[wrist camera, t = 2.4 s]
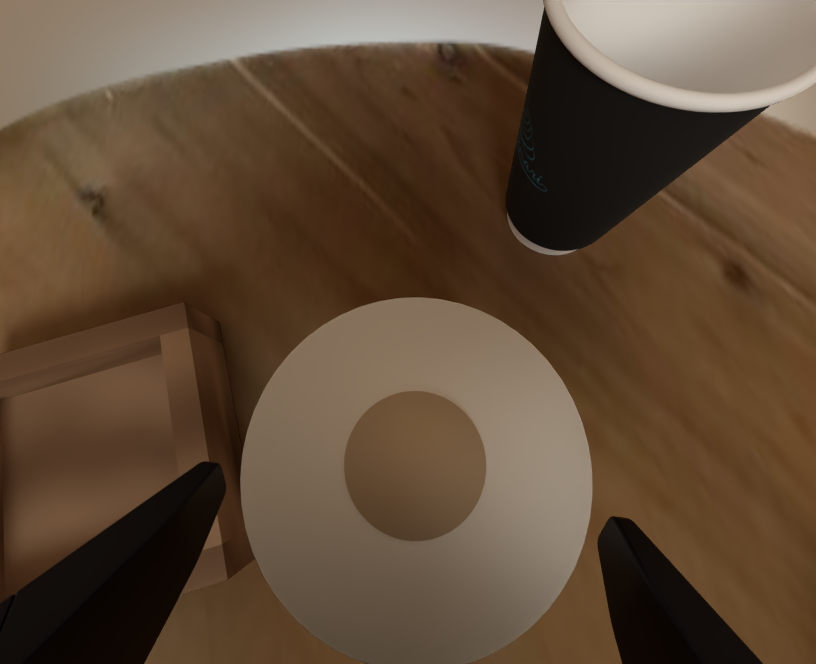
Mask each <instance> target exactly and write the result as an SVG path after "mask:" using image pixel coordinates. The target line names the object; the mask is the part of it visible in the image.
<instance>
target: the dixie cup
mask: <svg viewBox="0 0 816 664" xmlns="http://www.w3.org/2000/svg"><path fill="white" fill-rule="evenodd" d="M543 2H544V6H545V7H544V12H543V16H542V21H541V26H540V31H539V36H538V41H537V46H536V51H535V55H534V60H533V65H532V70H531V75H530V80H529V85H528V90H527V94H526V99H525V104H524V109H523V114H522V119H521V124H520V129H519V133H518V138H517V143H516V148H515V153H514V158H513V163H512V168H511V173H510V177H509V182H508V187H507V192H506V208H507V219H508V223H509V226H510V228H511V230H512V232H513V234H514V235H515V236H516V238H517V239H518V240H519V241H520V242H521V243H523V244H524V245H525V246H527V247H528V248H530V249H532V250H534V251H536V252H539V253H542V254H547V255H563V254H568V253H571V252H573V251H576V250H577V249H580V248H583V247H586V246H588V245H590V244H592V243H593V242H595V241H596V240H598V239H599V238H600V237H602V236H603V235H604V234H605V233H607V232H608V231H609V230H611V229H612V228H613V227H614V226H616V225H617V224H618V223H620V222H621V221H622V220H623V219H625V218H626V217H627V216H629V215H630V214H631V213H632V212H634V211H635V210H636V209H638V208H639V207H640V206H641V205H643V204H644V203H645V202H647V201H648V200H649V199H650V198H652V197H653V196H654V195H656V194H657V193H658V192H659V191H661V190H662V189H663V188H665V187H666V186H667V185H668V184H670V183H671V182H672V181H674V180H675V179H676V178H677V177H679V176H680V175H681V174H683V173H684V172H685V171H687V170H688V169H689V168H690V167H692V166H693V165H694V164H696V163H697V162H698V161H699V160H701V159H702V158H703V157H705V156H706V155H707V154H708V153H710V152H711V151H712V150H714V149H715V148H716V147H717V146H719V145H720V144H721V143H723V142H724V141H725V140H726V139H728V138H729V137H730V136H732V135H733V134H734V133H735V132H737V131H738V130H739V129H741V128H742V127H743V126H744V125H746V124H747V123H748V122H750V121H751V120H752V119H753V118H755V117H756V116H757V115H759V114H760V113H761V112H762V111H764V110H765V109H766V108H768V107H769V106H770V105H773V104H776V103H779V102H781V101H783V100H786V99H788V98H791V97H793V96H795V95H797V94H799V93H800V92H802V91H804V90H806V89H807V88H809V87H810V86H812V85H813V84H815V83H816V0H543Z"/></svg>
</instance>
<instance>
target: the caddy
mask: <svg viewBox="0 0 816 664" xmlns="http://www.w3.org/2000/svg"><path fill="white" fill-rule="evenodd" d="M203 461H208V462H216V463H219V464H220V465H221V466H222V470H223V474H224V478H225V481H226V493H225V496H224V499H223V501H222V504H221V506H220V509H219V511H218V513H217V516H216V518H215V521H214V523H213V526H212V528H211V531H210V533H209V535H208V538H207V540H206V543H205V545H204V548H203V550H202V552H201V555H200V557H199V559H198V561H197V564H196V566H195V568H194V570H193V572H192V574H191V575H190V577H189V579H188V581H187V583H186V585H185V587H184V589H183V591H182V593H181V594H180V595H183V594H186V593H189V592H192V591H195V590H198V589H201V588H204V587H207V586H210V585H213V584H216V583H219V582H222V581H225V580H228V579H229V578H231V577H232V576H233V575H234V574H236V573H237V572H238V571H240V570H241V569H242V568H243V567H245V566H246V565H247V564H249V563H250V562H251V561H252V560H254V559H255V557H254V554H253V552H252V549H251V545H250V542H249V539H248V535H247V532H246V529H245V523H244V517H243V511H242V505H241V486H240V476H241V463H242V448H241V442H240V437H239V431H238V426H237V420H236V415H235V409H234V404H233V398H232V392H231V387H230V381H229V376H228V370H227V365H226V359H225V354H224V348H223V342H222V337H221V331H220V326H219V322H218V321H216V320H215V319H213V318H211V317H209V316H208V315H206V314H204V313H202V312H201V311H199V310H197V309H196V308H194V307H192V306H190V305H189V304H187V303H185V302H182V303H178V304H175V305H171V306H168V307H164V308H161V309H157V310H154V311H150V312H147V313H143V314H140V315H136V316H133V317H129V318H126V319H122V320H118V321H115V322H111V323H108V324H104V325H101V326H97V327H94V328H90V329H87V330H83V331H80V332H76V333H73V334H69V335H65V336H62V337H58V338H55V339H51V340H48V341H44V342H41V343H37V344H34V345H30V346H27V347H23V348H20V349H16V350H12V351H9V352H5V353H2V354H0V603H1V602H2V601H4V600H5V599H7V598H8V597H9V596H11V595H13V594H15V595H16V593H17V591H18V590H20V589H21V588H22V587H24V586H25V585H27V584H28V583H29V582H31V581H32V580H34V579H35V578H37V577H38V576H39V575H41V574H42V573H44V572H45V571H46V570H48V569H49V568H51V567H52V566H54V565H55V564H56V563H58V562H59V561H61V560H62V559H64V558H65V557H66V556H68V555H69V554H71V553H72V552H73V551H75V550H76V549H78V548H79V547H81V546H82V545H83V544H85V543H86V542H88V541H89V540H90V539H92V538H93V537H95V536H96V535H98V534H99V533H100V532H102V531H103V530H105V529H106V528H107V527H109V526H110V525H112V524H113V523H115V522H116V521H117V520H119V519H120V518H122V517H123V516H125V515H126V514H127V513H129V512H130V511H132V510H133V509H134V508H136V507H137V506H139V505H140V504H142V503H143V502H144V501H146V500H147V499H149V498H150V497H151V496H153V495H154V494H156V493H157V492H159V491H160V490H161V489H163V488H164V487H166V486H167V485H168V484H170V483H171V482H173V481H174V480H176V479H177V478H178V477H180V476H181V475H183V474H184V473H186V472H187V471H188V470H190V469H191V468H193V467H194V466H195V465H197V464H198V463H200V462H203Z"/></svg>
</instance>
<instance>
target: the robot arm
mask: <svg viewBox="0 0 816 664" xmlns="http://www.w3.org/2000/svg"><path fill="white" fill-rule="evenodd" d="M225 493H226V481H225V478H224V474H223V470H222V466H221V465H220V464H219V463H216V462H208V461H203V462H200V463H198V464H197V465H195V466H194V467H193V468H191V469H190V470H188V471H187V472H186V473H184V474H183V475H181V476H180V477H178V478H177V479H176V480H174V481H173V482H171V483H170V484H168V485H167V486H166V487H164V488H163V489H161V490H160V491H159V492H157V493H156V494H154V495H153V496H151V497H150V498H149V499H147V500H146V501H144V502H143V503H142V504H140V505H139V506H137V507H136V508H134V509H133V510H132V511H130V512H129V513H127V514H126V515H125V516H123V517H122V518H120V519H119V520H117V521H116V522H115V523H113V524H112V525H110V526H109V527H107V528H106V529H105V530H103V531H102V532H100V533H99V534H98V535H96V536H95V537H93V538H92V539H90V540H89V541H88V542H86V543H85V544H83V545H82V546H81V547H79V548H78V549H76V550H75V551H73V552H72V553H71V554H69V555H68V556H66V557H65V558H64V559H62V560H61V561H59V562H58V563H56V564H55V565H54V566H52V567H51V568H49V569H48V570H46V571H45V572H44V573H42V574H41V575H39V576H38V577H37V578H35V579H34V580H32V581H31V582H29V583H28V584H27V585H25V586H24V587H22V588H21V589H20V590H18V591H17V593H16V595H15V594H13V595H11V596H9V597H8V598H7V599H5V600H4V601H2V602H1V603H0V664H144V663H145V661H146V659H147V657H148V655H149V653H150V651H151V649H152V648H153V646H154V644H155V642H156V640H157V638H158V636H159V634H160V632H161V630H162V629H163V627H164V625H165V623H166V621H167V619H168V617H169V615H170V613H171V611H172V610H173V608H174V606H175V604H176V602H177V600H178V598H179V596H180V594H181V593H182V591H183V589H184V587H185V585H186V583H187V581H188V579H189V577H190V575H191V574H192V572H193V570H194V568H195V566H196V564H197V561H198V559H199V557H200V555H201V552H202V550H203V548H204V545H205V543H206V540H207V538H208V535H209V533H210V531H211V528H212V526H213V523H214V521H215V518H216V516H217V513H218V511H219V509H220V506H221V504H222V501H223V499H224V496H225ZM598 552H599V557H600V563H601V569H602V574H603V580H604V586H605V591H606V597H607V603H608V608H609V613H610V618H611V623H612V627H613V631H614V635H615V639H616V642H617V646H618V650H619V653H620V657H621V660H622V664H763V663H762V662H761V661H760V660H759V659H758V658H757V656H756V655H755V654H754V653H753V652H752V651H751V650H750V649H749V648H748V647H747V645H746V644H745V643H744V642H743V641H742V640H741V639H740V638H739V637H738V636H737V635H736V633H735V632H734V631H733V630H732V629H731V628H730V627H729V626H728V625H727V624H726V622H725V621H724V620H723V619H722V618H721V617H720V616H719V615H718V614H717V613H716V611H715V610H714V609H713V608H712V607H711V606H710V605H709V604H708V603H707V602H706V601H705V599H704V598H703V597H702V596H701V595H700V594H699V593H698V592H697V591H696V590H695V588H694V587H693V586H692V585H691V584H690V583H689V582H688V581H687V580H686V579H685V577H684V576H683V575H682V574H681V573H680V572H679V571H678V570H677V569H676V568H675V567H674V565H673V564H672V563H671V562H670V561H669V560H668V559H667V558H666V557H665V556H664V554H663V553H662V552H661V551H660V550H659V549H658V548H657V547H656V546H655V545H654V543H653V542H652V541H651V540H650V539H649V538H648V537H647V536H646V535H645V534H644V533H643V531H642V530H641V529H640V528H639V527H638V526H637V525H636V524H635V523H634V522H633V521H632V520H630V519H628V518H622V517H615V516H612V517H610V518H609V519H608V521H607V522H606V524H605V526H604V528H603V530H602V531H601V533H600V535H599V537H598Z"/></svg>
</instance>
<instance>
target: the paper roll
mask: <svg viewBox="0 0 816 664" xmlns="http://www.w3.org/2000/svg"><path fill="white" fill-rule="evenodd" d="M240 486H241V505H242V511H243V517H244V523H245V529H246V532H247V535H248V539H249V542H250V545H251V549H252V552H253V554H254V557H255V559H256V561H257V563H258V565H259V568H260V570H261V572H262V574H263V576H264V578H265V580H266V581H267V583H268V584H269V586H270V588H271V589H272V591H273V592H274V594H275V596H276V597H277V599H278V600H279V601H280V602H281V603H282V605H283V606H284V607H285V608H286V609H287V611H288V612H289V613H290V614H291V615H292V616H293V618H294V619H295V620H297V621H298V622H299V623H300V624H301V625H302V626H303V627H304V628H305V629H307V630H308V631H309V632H310V633H311V634H312V635H313V636H315V637H316V638H318V639H319V640H321V641H322V642H324V643H325V644H327V645H328V646H330V647H331V648H333V649H334V650H336V651H339V652H341V653H343V654H345V655H347V656H349V657H351V658H353V659H356V660H358V661H361V662H364V663H368V664H468V663H470V662H473V661H476V660H479V659H482V658H485V657H487V656H488V655H490V654H492V653H494V652H496V651H498V650H500V649H501V648H503V647H505V646H507V645H509V644H510V643H511V642H513V641H514V640H515V639H517V638H518V637H519V636H521V635H522V634H523V633H525V632H526V631H527V630H529V629H530V628H531V627H532V626H533V625H534V624H535V623H536V622H537V621H538V620H539V619H540V618H541V617H542V616H543V615H544V614H545V613H546V612H547V610H548V609H549V608H550V606H551V605H552V604H553V602H554V601H555V600H556V598H557V597H558V596H559V594H560V593H561V591H562V590H563V588H564V586H565V585H566V583H567V581H568V579H569V577H570V575H571V574H572V572H573V570H574V568H575V566H576V563H577V561H578V558H579V555H580V553H581V550H582V547H583V545H584V541H585V537H586V533H587V529H588V524H589V520H590V512H591V503H592V466H591V459H590V453H589V446H588V442H587V438H586V434H585V431H584V427H583V424H582V420H581V418H580V416H579V413H578V411H577V408H576V406H575V403H574V401H573V399H572V397H571V395H570V394H569V392H568V390H567V388H566V386H565V385H564V383H563V381H562V379H561V378H560V377H559V375H558V374H557V372H556V371H555V370H554V368H553V367H552V366H551V364H550V363H549V362H548V360H547V359H546V358H545V357H544V356H543V355H542V354H541V353H540V352H539V351H538V350H537V349H536V348H535V347H534V345H532V344H531V343H530V342H529V341H528V340H526V339H525V338H524V337H523V336H522V335H521V334H519V333H518V332H517V331H516V330H514V329H512V328H511V327H509V326H508V325H506V324H505V323H503V322H502V321H500V320H499V319H497V318H495V317H493V316H490V315H488V314H486V313H484V312H482V311H480V310H478V309H475V308H472V307H469V306H466V305H463V304H460V303H456V302H451V301H447V300H442V299H433V298H422V297H414V298H396V299H390V300H384V301H378V302H375V303H371V304H368V305H364V306H361V307H358V308H356V309H353V310H351V311H349V312H346V313H344V314H342V315H340V316H338V317H336V318H334V319H333V320H331V321H329V322H327V323H326V324H324V325H322V326H321V327H320V328H318V329H317V330H316V331H314V332H313V333H312V334H310V335H309V336H308V337H306V338H305V339H304V340H303V341H302V342H301V343H300V344H299V345H298V346H297V347H296V348H295V349H294V350H293V351H292V352H291V353H290V354H289V355H288V356H287V357H286V359H285V360H284V361H283V362H282V364H281V365H280V366H279V367H278V368H277V370H276V371H275V373H274V374H273V376H272V377H271V379H270V381H269V382H268V384H267V385H266V387H265V389H264V390H263V393H262V395H261V397H260V399H259V401H258V403H257V405H256V407H255V409H254V412H253V415H252V418H251V421H250V424H249V427H248V430H247V434H246V439H245V444H244V449H243V453H242V463H241V476H240Z"/></svg>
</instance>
